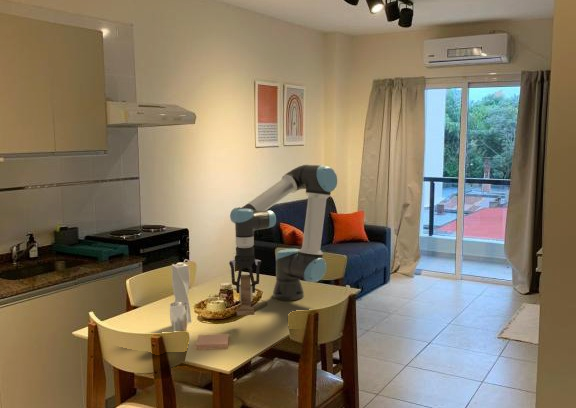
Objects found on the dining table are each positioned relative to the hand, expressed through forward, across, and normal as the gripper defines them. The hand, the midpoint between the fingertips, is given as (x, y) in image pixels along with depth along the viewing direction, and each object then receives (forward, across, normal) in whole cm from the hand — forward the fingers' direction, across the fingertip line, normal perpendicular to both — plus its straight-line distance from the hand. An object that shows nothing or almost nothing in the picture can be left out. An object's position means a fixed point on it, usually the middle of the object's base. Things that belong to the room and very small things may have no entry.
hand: (245, 300), depth 237 cm
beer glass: (+11, -26, -17) cm, 33 cm away
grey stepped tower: (+2, 0, -6) cm, 6 cm away
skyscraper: (+10, -27, +2) cm, 29 cm away
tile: (+10, -13, -16) cm, 23 cm away
